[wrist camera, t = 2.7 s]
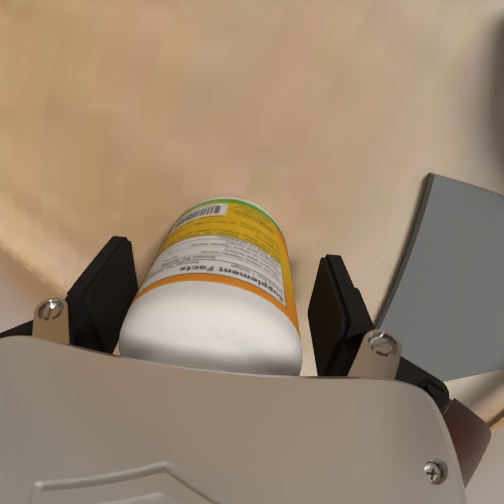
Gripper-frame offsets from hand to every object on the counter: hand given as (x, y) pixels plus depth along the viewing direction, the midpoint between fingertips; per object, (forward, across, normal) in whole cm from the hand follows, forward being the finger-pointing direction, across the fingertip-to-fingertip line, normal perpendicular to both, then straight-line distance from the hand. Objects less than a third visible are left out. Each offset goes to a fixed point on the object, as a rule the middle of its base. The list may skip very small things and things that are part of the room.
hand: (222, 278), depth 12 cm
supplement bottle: (+3, 0, 0) cm, 3 cm away
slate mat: (+2, -19, +3) cm, 19 cm away
